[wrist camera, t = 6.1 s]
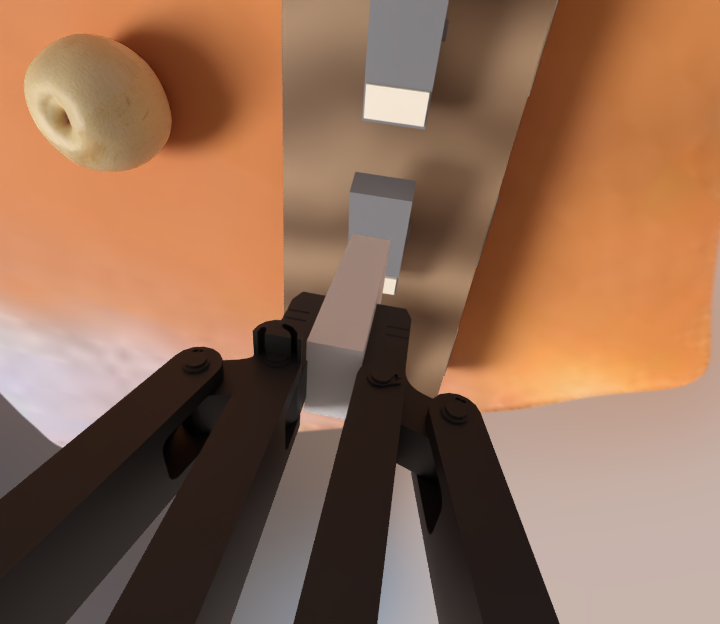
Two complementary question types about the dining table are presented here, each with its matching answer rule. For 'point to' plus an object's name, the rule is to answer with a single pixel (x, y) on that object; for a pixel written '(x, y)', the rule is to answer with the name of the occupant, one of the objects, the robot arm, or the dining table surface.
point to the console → (404, 153)
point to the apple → (98, 103)
